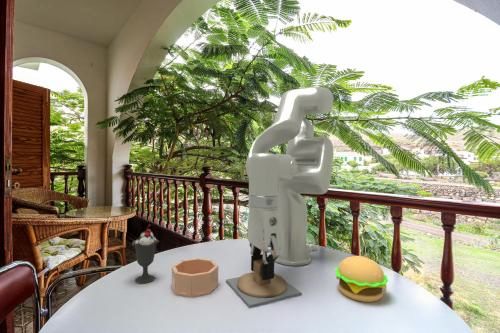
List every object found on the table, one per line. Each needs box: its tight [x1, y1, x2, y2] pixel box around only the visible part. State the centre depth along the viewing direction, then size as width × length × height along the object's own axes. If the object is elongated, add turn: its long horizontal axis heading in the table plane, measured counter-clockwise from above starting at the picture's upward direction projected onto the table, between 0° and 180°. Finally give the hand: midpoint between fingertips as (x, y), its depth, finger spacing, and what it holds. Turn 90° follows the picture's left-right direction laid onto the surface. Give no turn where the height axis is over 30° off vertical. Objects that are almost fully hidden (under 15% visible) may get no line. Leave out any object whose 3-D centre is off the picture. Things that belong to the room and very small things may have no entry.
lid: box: [237, 259, 287, 298], centre depth 66 cm, size 12×12×6 cm
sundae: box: [131, 224, 160, 285], centre depth 69 cm, size 7×7×15 cm
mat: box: [225, 272, 303, 309], centre depth 66 cm, size 14×14×1 cm
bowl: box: [170, 257, 219, 298], centre depth 66 cm, size 11×11×5 cm
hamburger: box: [334, 255, 389, 303], centre depth 64 cm, size 12×12×9 cm
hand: (262, 273), depth 66 cm, fingers open, 5 cm apart
